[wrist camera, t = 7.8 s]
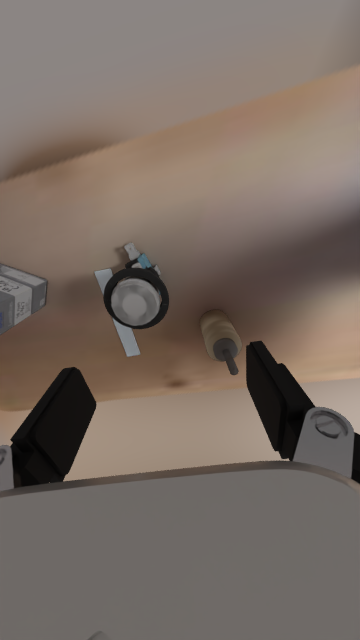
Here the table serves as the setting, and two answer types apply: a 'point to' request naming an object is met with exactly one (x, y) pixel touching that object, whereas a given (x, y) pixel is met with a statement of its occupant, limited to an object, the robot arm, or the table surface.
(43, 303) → the label tape cartridge
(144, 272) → the push button
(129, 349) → the flat metal tool blade
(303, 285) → the table surface
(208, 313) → the awl
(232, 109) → the table surface
